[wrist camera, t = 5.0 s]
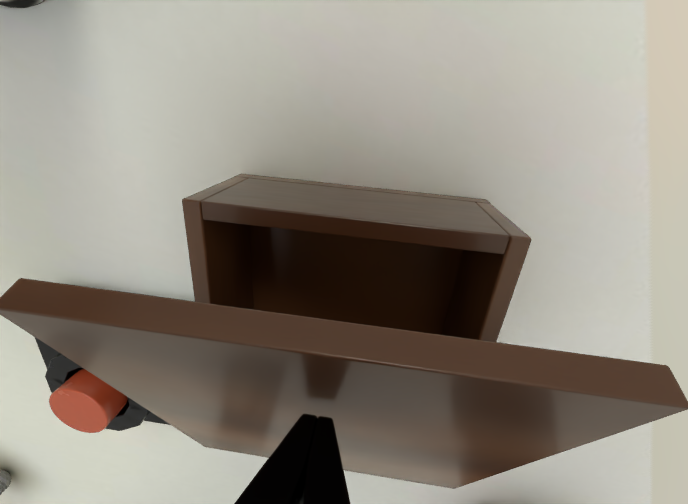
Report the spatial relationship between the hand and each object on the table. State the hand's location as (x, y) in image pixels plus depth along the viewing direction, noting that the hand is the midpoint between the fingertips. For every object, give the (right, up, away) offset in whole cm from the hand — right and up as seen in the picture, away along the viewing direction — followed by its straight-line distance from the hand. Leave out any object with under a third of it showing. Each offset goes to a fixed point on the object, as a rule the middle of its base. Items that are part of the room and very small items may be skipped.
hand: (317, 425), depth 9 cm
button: (-15, -4, +12) cm, 19 cm away
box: (+1, +2, +12) cm, 12 cm away
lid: (0, -1, +3) cm, 4 cm away
